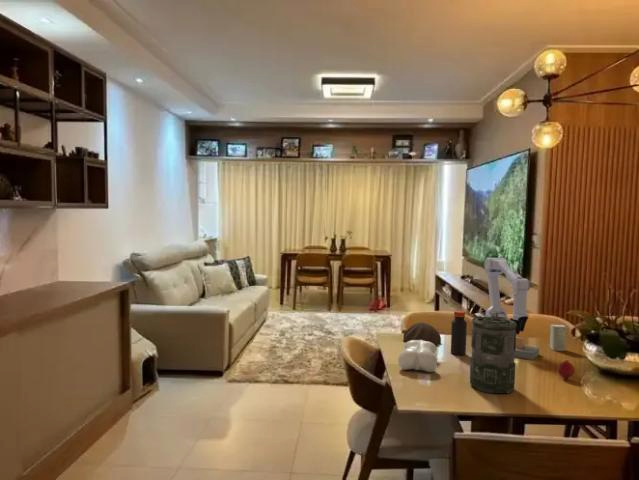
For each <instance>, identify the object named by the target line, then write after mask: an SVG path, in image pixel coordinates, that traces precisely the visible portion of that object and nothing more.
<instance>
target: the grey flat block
mask: <svg viewBox="0 0 639 480" xmlns="http://www.w3.org/2000/svg"><path fill="white" fill-rule="evenodd" d="M539 355H540V347H536V346H531V345H525V344H524V346H523V349H517V348H516V351H515V356H514V358H518V359H525V360H530V361H531V360H532V361H533V360H535V358H537V357H538V356H539Z"/></svg>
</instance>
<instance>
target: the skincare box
mask: <svg viewBox="0 0 639 480" xmlns="http://www.w3.org/2000/svg"><path fill="white" fill-rule="evenodd" d="M549 325H550V327H549V329H550V330H549V332H550V333H549V335H550V336H549V349H550V350H552V351H556V352H557V351H559V352H560V351H561V352H563V351H565V352H566V349H567V348H566V346H567V345H566V344H567V326H566V325H564V324H549Z"/></svg>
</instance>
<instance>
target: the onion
mask: <svg viewBox="0 0 639 480" xmlns="http://www.w3.org/2000/svg"><path fill="white" fill-rule="evenodd" d="M569 361H570V360H569V359H565V360H564V361H562V362H561V363H560V364H559V365H558V367H557V372H558V374H559V375H560V376H561V377H562V378H563V379H565V380H568V379H569V378H571V377H572V376H574V374H575V367H574V366H573V364H572V363H571V362H569Z"/></svg>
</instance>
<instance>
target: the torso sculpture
mask: <svg viewBox="0 0 639 480" xmlns="http://www.w3.org/2000/svg"><path fill="white" fill-rule="evenodd" d="M436 352H437V345H434V344H433V343H431V342H429V341H423V340H411V341H408V342H404V349H403V350H402V351H401V352H400V353H399V354H398V359H397V361H398V366H399V367H400V369H401V370H403V371H404V370H405V371H407V370H408V371H409V370H413V371H414V370H415V371H424V372H426V373H432V372H434V371H435V370H436V368H437V366H438V358H437V356H436V354H435V353H436Z"/></svg>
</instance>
